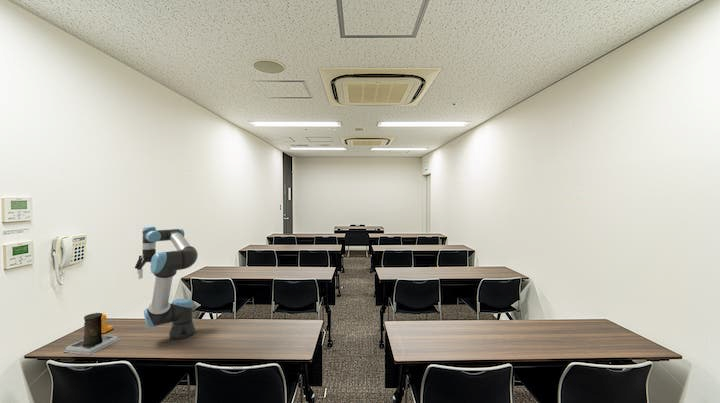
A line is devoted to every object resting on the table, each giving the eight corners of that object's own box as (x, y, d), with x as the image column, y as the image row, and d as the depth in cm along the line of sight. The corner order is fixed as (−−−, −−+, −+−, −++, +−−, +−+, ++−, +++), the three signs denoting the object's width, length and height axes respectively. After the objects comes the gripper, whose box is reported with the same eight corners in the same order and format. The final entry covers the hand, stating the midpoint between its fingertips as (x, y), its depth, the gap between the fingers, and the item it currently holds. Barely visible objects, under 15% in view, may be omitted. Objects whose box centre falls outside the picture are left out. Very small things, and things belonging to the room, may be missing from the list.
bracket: (113, 329, 202) (113, 312, 202) (104, 334, 195) (104, 316, 195) (97, 329, 202) (97, 312, 202) (88, 334, 194) (88, 316, 194)
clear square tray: (119, 340, 186) (119, 335, 186) (89, 355, 168) (89, 349, 168) (95, 338, 189) (95, 333, 189) (63, 352, 171) (63, 347, 171)
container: (78, 347, 175) (78, 317, 175) (94, 340, 184) (95, 311, 184) (90, 348, 173) (91, 318, 173) (106, 341, 182) (106, 313, 182)
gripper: (169, 248, 205) (169, 278, 205) (138, 247, 209) (138, 276, 209) (160, 250, 198) (160, 281, 198) (128, 249, 201) (128, 279, 201)
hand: (149, 279), depth 203 cm, fingers open, 13 cm apart
